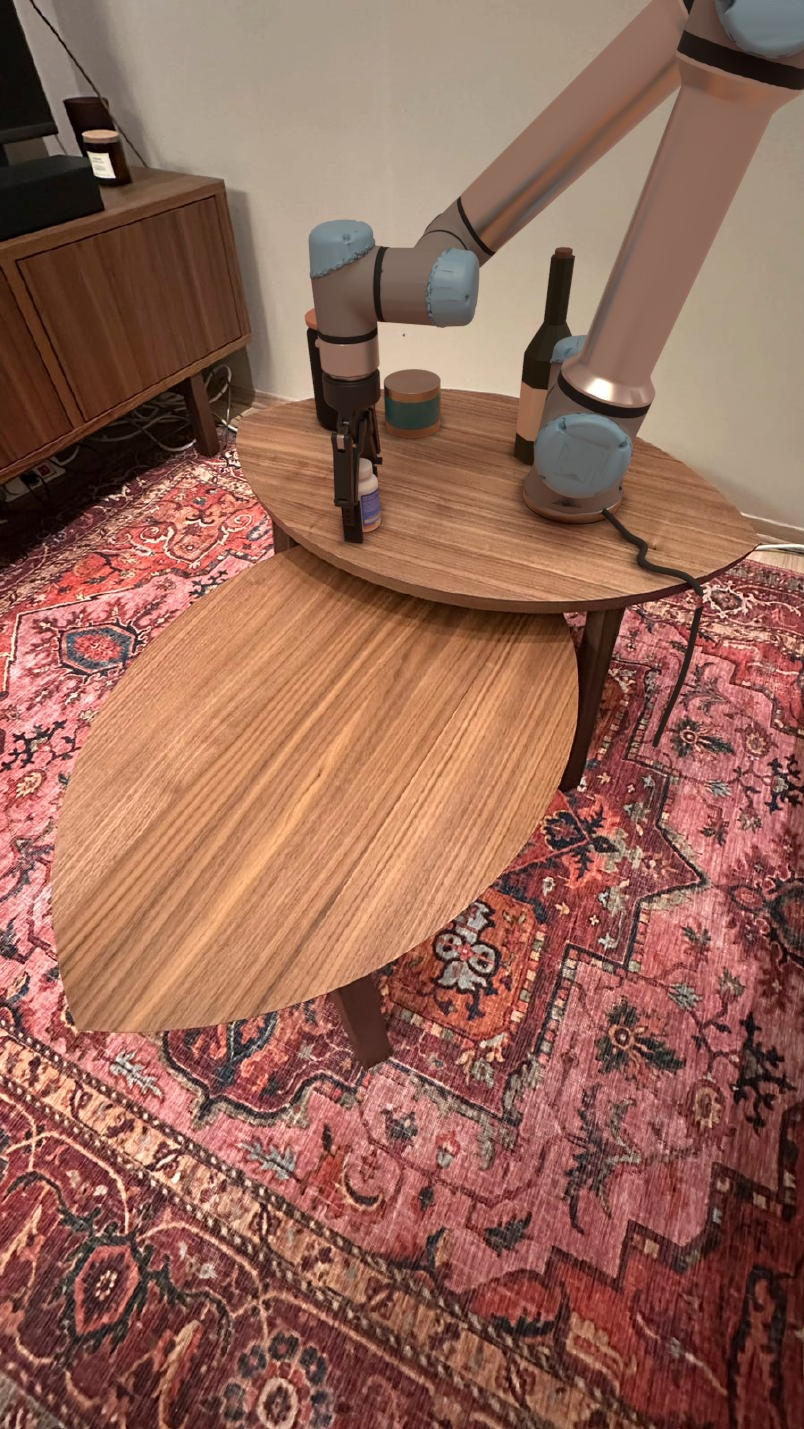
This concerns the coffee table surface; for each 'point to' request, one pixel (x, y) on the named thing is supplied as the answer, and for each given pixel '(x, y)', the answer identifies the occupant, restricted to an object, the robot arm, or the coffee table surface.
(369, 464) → the pill bottle
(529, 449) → the wine bottle
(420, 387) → the tin
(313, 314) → the coffee jar
